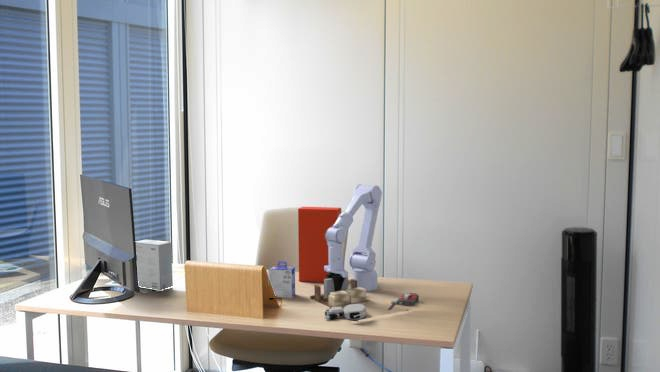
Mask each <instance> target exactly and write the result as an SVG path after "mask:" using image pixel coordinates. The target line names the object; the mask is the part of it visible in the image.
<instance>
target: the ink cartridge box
mask: <svg viewBox="0 0 660 372" xmlns="http://www.w3.org/2000/svg"><path fill="white" fill-rule="evenodd" d="M282 264H283V265H282ZM287 265H288V261H281V260H280V261H278V262H277V266H271V267H270V268H268V281H269V280H270V283H271V285H272V287H273V290H274V292H275V295H276V296H277V297H276V298H288V299H292V298H294V297H295V296H296V268H295V267H293V266H291V267H290V266H287Z"/></svg>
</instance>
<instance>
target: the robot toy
mask: <svg viewBox="0 0 660 372" xmlns="http://www.w3.org/2000/svg"><path fill="white" fill-rule="evenodd" d="M365 303H366V302H362V303H357V304H349V305H346V306H344V307H343V306H341V307H328V308H326V309H325V312H324V319H325V320H330V321H331V320H335V319H341V318H345V319H347V320H352V321H353V322H358V321H359V320H361V319H363V318H365V316H367V307H366V306H365V305H366V304H365Z"/></svg>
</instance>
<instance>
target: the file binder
mask: <svg viewBox="0 0 660 372" xmlns="http://www.w3.org/2000/svg"><path fill="white" fill-rule="evenodd" d="M341 213H342V207H327V206H325V207H323V206H302V207H300V208H298V209H297V218H298V220H297V224H298V225H297V226H298V229H297V230H298V237H297V238H298V281H299V282H307V283H310V282H311V283H324V279H328V278H327V276H326V274H328V273H329V272H327V271H324V266H326V265H329V246H328V245H327V240H326V238H325V235H326V231H327V230H328V229H329V228H331V227H333V225H334V223H335V222H336V220H337V219H338V217H339V215H340V214H341Z"/></svg>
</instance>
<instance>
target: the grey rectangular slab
mask: <svg viewBox="0 0 660 372" xmlns="http://www.w3.org/2000/svg"><path fill="white" fill-rule="evenodd" d="M347 289H349V276H348V277H346V278H345V280H344V282H343V285H342V288H341V291H342V290H343V291H345V290H347ZM331 292H335V288H334V281H333V279H332V278H328V279H324V282H323V294H324V297H328V295H330V293H331Z"/></svg>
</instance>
